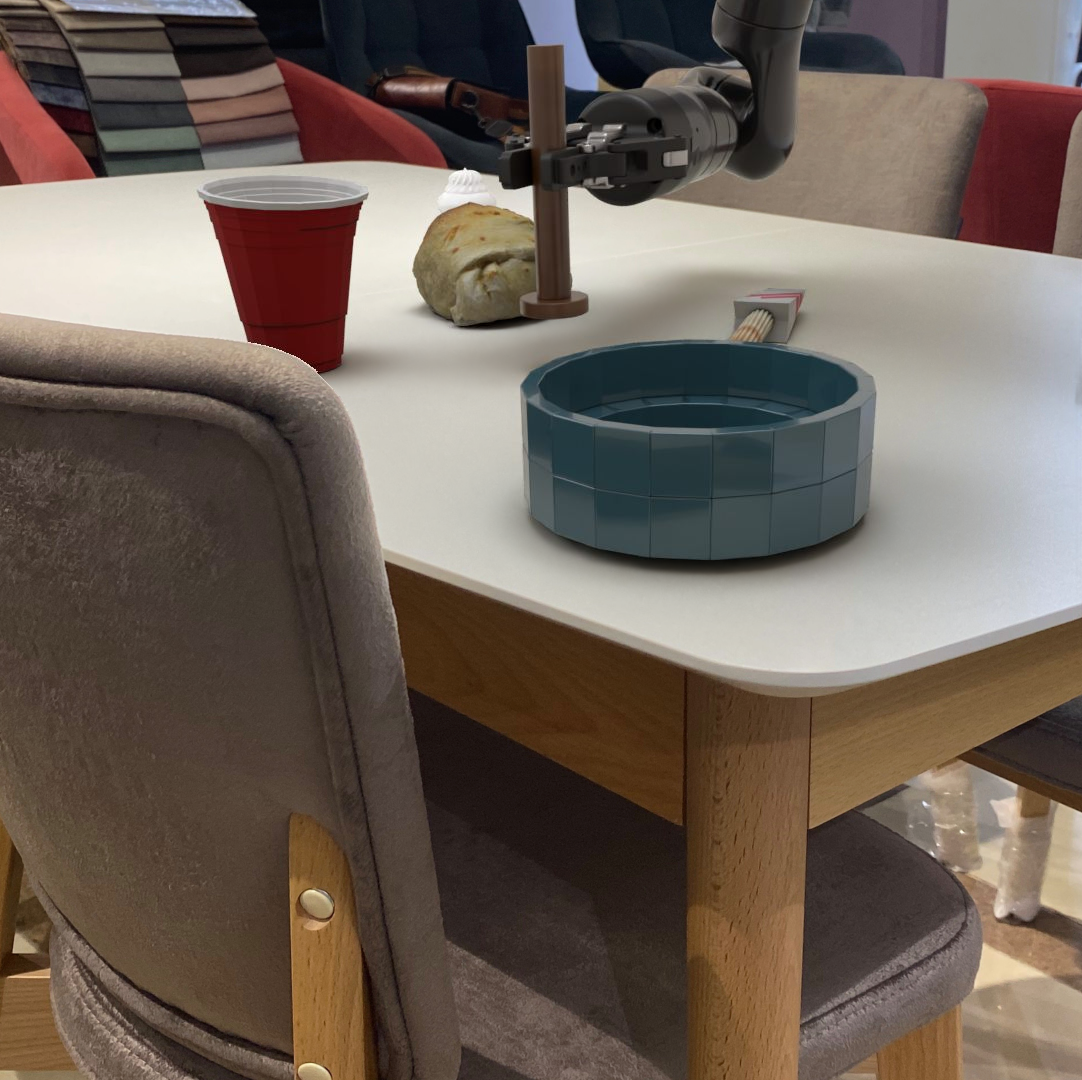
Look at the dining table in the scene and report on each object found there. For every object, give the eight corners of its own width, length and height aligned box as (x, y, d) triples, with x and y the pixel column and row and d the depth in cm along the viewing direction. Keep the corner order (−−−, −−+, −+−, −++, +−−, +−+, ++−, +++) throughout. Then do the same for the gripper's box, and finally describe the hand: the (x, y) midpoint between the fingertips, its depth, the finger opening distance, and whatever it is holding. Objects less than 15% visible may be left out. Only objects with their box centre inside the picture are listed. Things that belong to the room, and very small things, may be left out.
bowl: (905, 476, 63) (914, 356, 61) (804, 599, 51) (811, 453, 48) (615, 438, 70) (613, 329, 68) (463, 537, 58) (455, 407, 55)
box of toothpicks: (814, 270, 96) (755, 346, 79) (813, 306, 97) (754, 389, 80) (763, 267, 97) (693, 342, 80) (762, 304, 98) (693, 384, 81)
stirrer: (600, 307, 84) (594, 42, 78) (569, 321, 80) (560, 45, 74) (540, 303, 86) (530, 44, 80) (507, 316, 82) (494, 47, 76)
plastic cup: (325, 394, 80) (305, 195, 76) (185, 379, 85) (159, 190, 80) (412, 352, 89) (400, 173, 85) (283, 341, 94) (264, 169, 89)
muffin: (510, 237, 134) (507, 166, 131) (461, 244, 130) (457, 172, 128) (475, 230, 138) (471, 162, 136) (427, 238, 135) (422, 168, 132)
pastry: (459, 287, 110) (454, 190, 107) (598, 294, 106) (596, 193, 103) (378, 323, 98) (370, 215, 95) (530, 333, 94) (526, 220, 91)
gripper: (557, 88, 93) (424, 106, 79) (740, 86, 87) (630, 105, 73) (560, 196, 96) (432, 231, 82) (738, 201, 90) (632, 241, 76)
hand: (526, 172), depth 77 cm, fingers closed on stirrer, 2 cm apart
